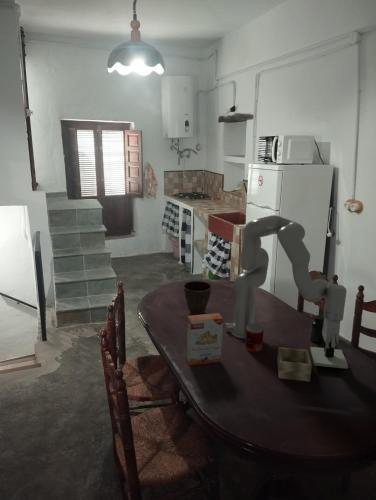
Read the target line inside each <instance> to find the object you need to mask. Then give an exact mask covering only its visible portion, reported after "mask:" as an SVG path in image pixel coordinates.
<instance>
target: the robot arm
mask: <svg viewBox="0 0 376 500" xmlns="http://www.w3.org/2000/svg"><path fill="white" fill-rule="evenodd" d="M272 235H277V236H276V237H277V239H278V241H279V243H280V245H281V247H282V249H283V250H284V252H285V254H286V256H287V257H288V260H289V262H290V263H291V269H292V276H293V281H294V283H295V286H296V287H297V289H298V291H299V293H300V295H301V296H302V297H303V298H304V300H305V301H306V302H308V303H317V302H318V301H320V300H321V299H325V300H324V301H325V302H324V309H323V310H324V311H323V317H324V324H323V330H322V334H323V337H324V346H323V348H324V352H325V347H326V343H328V344H327V348H326V355H325V356H326V357H334V350H335V349H336V345H337V344H338V343H339V338H340V329H341V321H343V320H344V313H345V307H346V298H347V288H346V287H345V286H344V285H341V284H336V283H333V282H330V281H328V280H326V279H322V278H317V279H315V280H313V278H312V277H311V274H310V271H309V264H310V260H311V253H310V252H309V250H308V248H307V247H306V244H305V243H304V241H303V240H304V238H305V235H306V230H305V228H304V227H303V226H302V225H301V224H300V223H299V222H296V221H294V220H290V219H288V218H285V217H282V216H279V215H276V214H275V215H274V214H273V215H272V214H271V215H269V216H264V217H259V218H256V219H252V220H250V221H249V222H247V223H246V224H245V226H244V229H243V234H242V245H241V252H240V259H239V261H240V262H239V265H240V267H241V269H242V270H244V271H243V272H241V273H239V274H238V275H237V276H236V278H235V279H234V292H235V306H234V321H233V322H231V323H229V322H225V323H224V324H225V326H224V328H226V329H228V330H230V333H231V334H232V336H233V337H235V338H238V339H243V340H246V327H247V325H249V324H255V315H256V314H255V313H256V295H255V290H256V289H258V288H260V287H262V286H263V285H264V284H265V283H266V280H267V275H268V268H269V262H270V258H269V253H268V251H267V250H266V249H265V248H264V247H262V239H261V238H264V237H268V236H272ZM330 343H331V345H329V344H330Z"/></svg>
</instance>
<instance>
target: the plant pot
mask: <svg viewBox="0 0 376 500" xmlns="http://www.w3.org/2000/svg"><path fill="white" fill-rule="evenodd" d="M183 290H184V296H185V301H186V304H187V307H188V310H189V313H190V314H191V315H203V314H205V311H206V309H207V307H208V303H209V300H210V297H211V293H212V284H211V283H209V282H206V281H201V280H200V281H199V280H195V281H194V280H192V281H188V282H186V283H184V285H183Z"/></svg>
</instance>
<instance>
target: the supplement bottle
mask: <svg viewBox="0 0 376 500" xmlns="http://www.w3.org/2000/svg"><path fill="white" fill-rule="evenodd" d="M323 324H324V315H320V314H319V315H318V314H317V315H314V317H313V321H311V323H310V331H309V341H311V342H312V343H314V344H315V343H317V344H322V343H325V340H324V337H323V334H322V330H323Z"/></svg>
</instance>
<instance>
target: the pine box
mask: <svg viewBox="0 0 376 500" xmlns="http://www.w3.org/2000/svg"><path fill="white" fill-rule="evenodd" d="M277 348H278V349H277V359H276V366H277V372H278V373H277V374H278V379H284V380H293V381H294V380H295V381H299V382H300V381H303V382H311V375H312V368H313V367H312V366H313V365H312V361H311V358H310V352H309V350H308V349H304V348H303V349H302V348H292V347H282V346H281V347H280V346H278V347H277ZM298 362H300V363H298Z"/></svg>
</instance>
